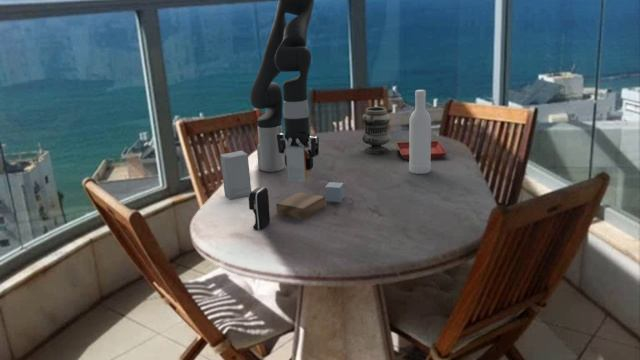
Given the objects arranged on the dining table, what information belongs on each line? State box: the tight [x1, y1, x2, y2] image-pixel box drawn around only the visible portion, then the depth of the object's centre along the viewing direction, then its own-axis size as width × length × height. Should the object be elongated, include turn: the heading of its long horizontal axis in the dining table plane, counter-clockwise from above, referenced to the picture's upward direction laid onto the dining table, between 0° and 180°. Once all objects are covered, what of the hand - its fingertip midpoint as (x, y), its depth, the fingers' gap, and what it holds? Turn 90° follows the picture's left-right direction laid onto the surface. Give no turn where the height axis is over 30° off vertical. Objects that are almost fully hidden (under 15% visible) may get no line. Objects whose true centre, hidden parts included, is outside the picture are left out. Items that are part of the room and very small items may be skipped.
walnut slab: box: [275, 191, 326, 221], centre depth 189 cm, size 10×12×4 cm
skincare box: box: [219, 150, 252, 200], centre depth 205 cm, size 8×6×15 cm
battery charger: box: [248, 187, 271, 231], centre depth 177 cm, size 7×4×11 cm, turn 161°
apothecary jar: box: [361, 106, 392, 154], centre depth 252 cm, size 12×12×18 cm
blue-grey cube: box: [324, 181, 345, 203], centre depth 198 cm, size 5×5×5 cm
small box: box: [286, 145, 312, 183], centre depth 185 cm, size 8×6×10 cm
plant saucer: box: [395, 140, 447, 161], centre depth 246 cm, size 18×18×3 cm
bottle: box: [408, 89, 432, 175], centre depth 220 cm, size 8×8×30 cm
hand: (299, 168), depth 186 cm, fingers closed on small box, 6 cm apart
